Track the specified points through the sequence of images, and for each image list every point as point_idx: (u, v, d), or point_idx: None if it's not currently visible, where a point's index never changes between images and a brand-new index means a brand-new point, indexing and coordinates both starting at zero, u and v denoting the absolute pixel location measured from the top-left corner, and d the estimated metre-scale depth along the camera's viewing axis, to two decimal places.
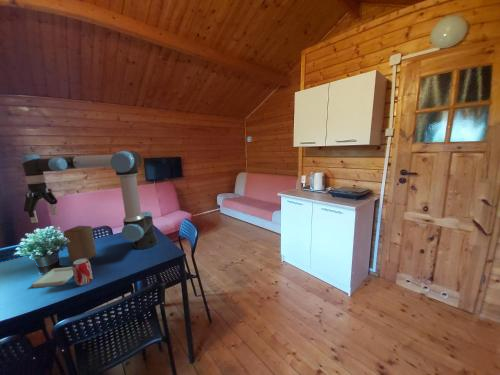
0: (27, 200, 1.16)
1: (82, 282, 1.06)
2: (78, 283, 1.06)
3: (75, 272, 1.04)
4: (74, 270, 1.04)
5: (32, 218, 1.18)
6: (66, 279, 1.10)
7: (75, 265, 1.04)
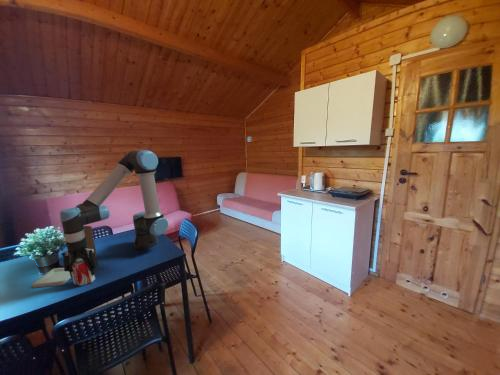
0: None
1: (82, 282, 1.06)
2: (78, 283, 1.06)
3: (75, 272, 1.04)
4: (74, 270, 1.04)
5: None
6: (66, 279, 1.10)
7: (75, 265, 1.04)
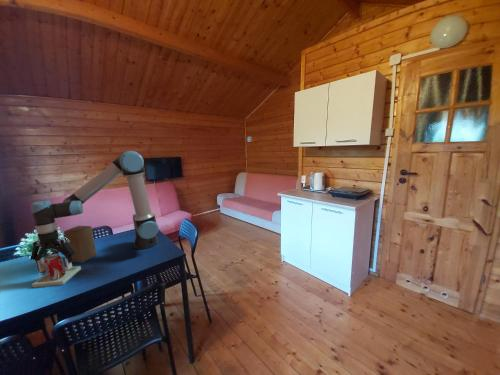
0: None
1: (54, 276, 1.10)
2: (50, 277, 1.10)
3: (47, 267, 1.09)
4: (46, 265, 1.08)
5: None
6: (66, 279, 1.10)
7: (46, 261, 1.08)
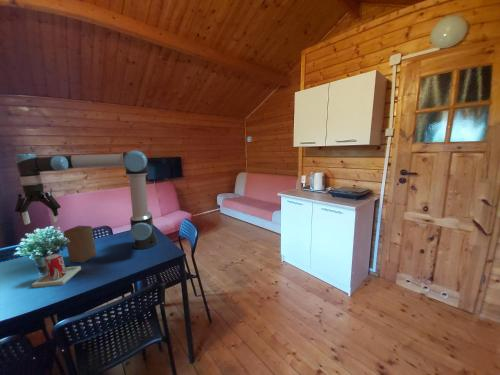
0: None
1: (54, 276, 1.10)
2: (50, 277, 1.10)
3: (47, 267, 1.09)
4: (46, 265, 1.09)
5: None
6: (66, 279, 1.10)
7: (47, 260, 1.09)
